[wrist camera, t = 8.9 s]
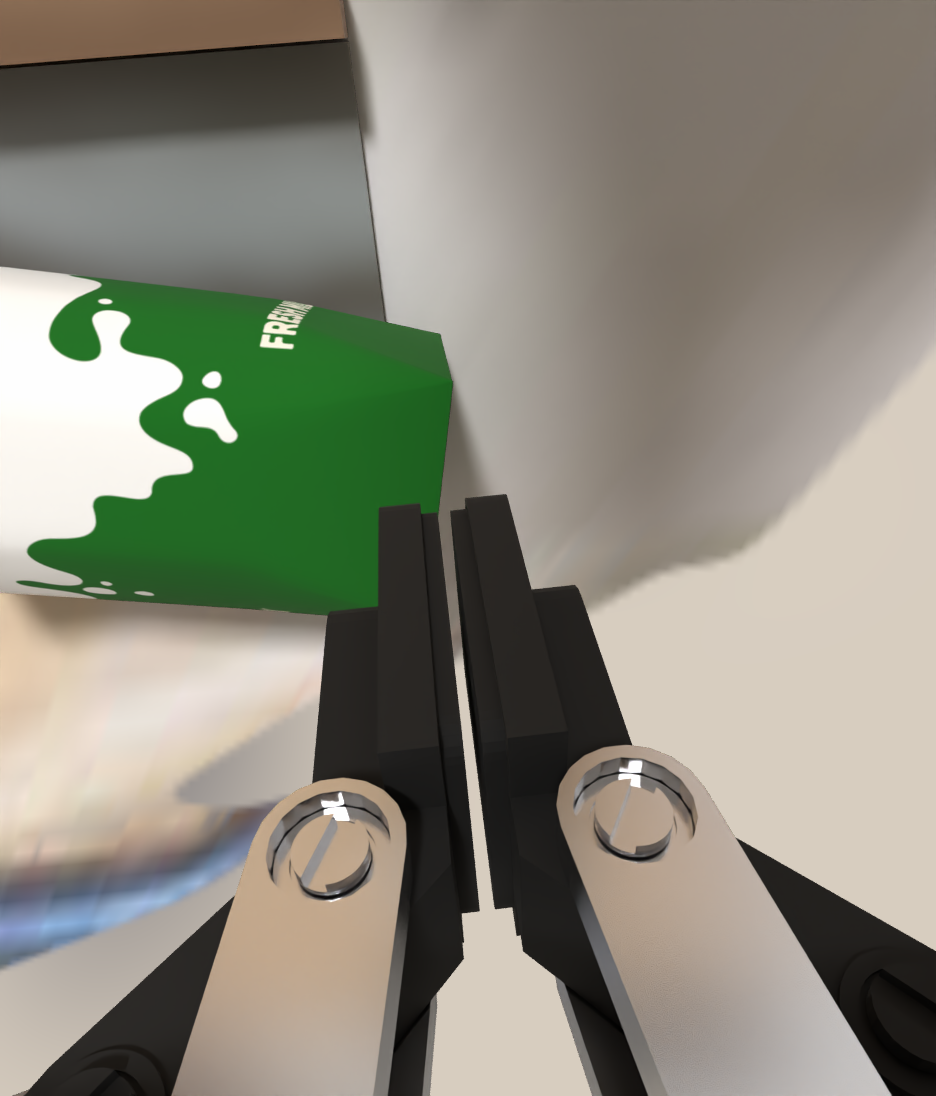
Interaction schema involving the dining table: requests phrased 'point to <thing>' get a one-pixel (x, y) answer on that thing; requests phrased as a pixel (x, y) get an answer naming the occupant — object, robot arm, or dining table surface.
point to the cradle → (187, 149)
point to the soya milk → (207, 443)
